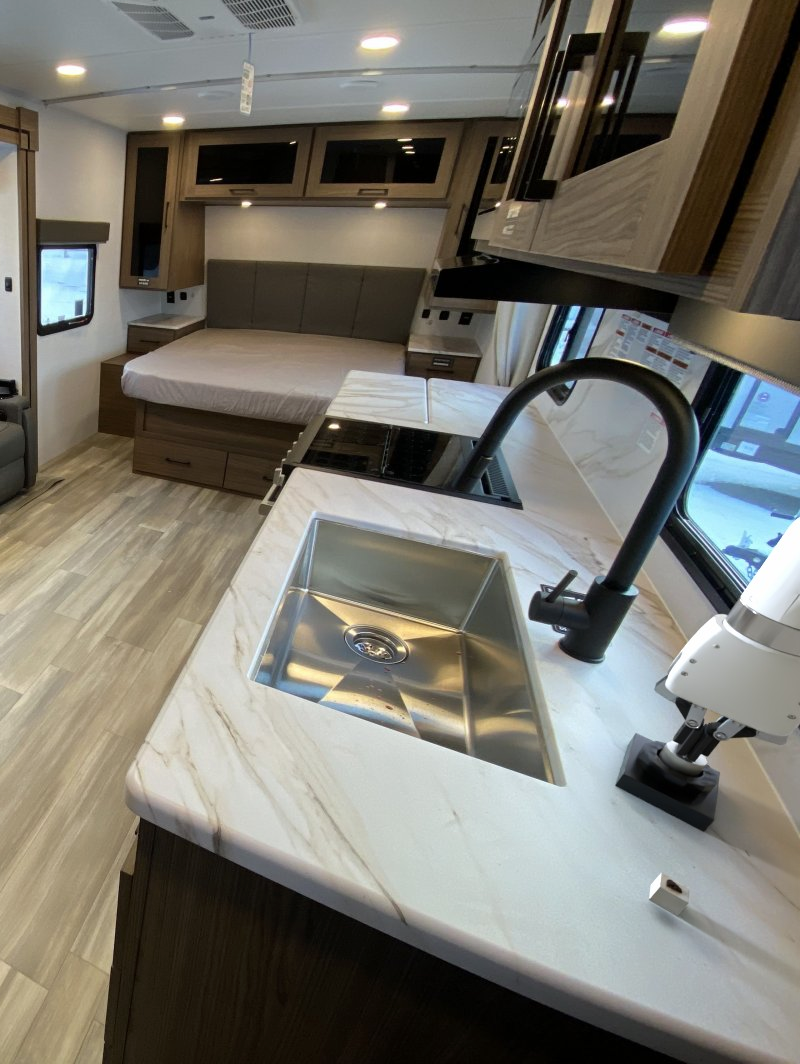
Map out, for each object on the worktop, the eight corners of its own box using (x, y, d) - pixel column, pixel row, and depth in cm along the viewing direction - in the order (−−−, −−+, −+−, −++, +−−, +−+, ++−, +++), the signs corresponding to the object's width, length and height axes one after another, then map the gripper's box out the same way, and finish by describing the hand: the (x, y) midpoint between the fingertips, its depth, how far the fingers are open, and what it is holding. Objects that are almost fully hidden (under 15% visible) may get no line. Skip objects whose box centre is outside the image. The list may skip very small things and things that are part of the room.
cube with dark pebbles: (648, 900, 58) (660, 885, 57) (650, 885, 59) (662, 870, 58) (677, 916, 57) (690, 901, 56) (678, 901, 58) (691, 886, 57)
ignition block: (627, 744, 76) (642, 722, 75) (710, 784, 71) (728, 761, 69) (614, 786, 70) (630, 763, 68) (704, 832, 65) (723, 809, 63)
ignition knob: (660, 747, 71) (668, 736, 70) (699, 766, 69) (709, 754, 68) (656, 763, 69) (665, 751, 68) (697, 783, 67) (706, 770, 66)
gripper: (889, 650, 57) (777, 776, 66) (687, 584, 67) (612, 701, 75) (899, 684, 53) (777, 814, 61) (680, 608, 62) (601, 729, 71)
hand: (686, 751), depth 68 cm, fingers closed
